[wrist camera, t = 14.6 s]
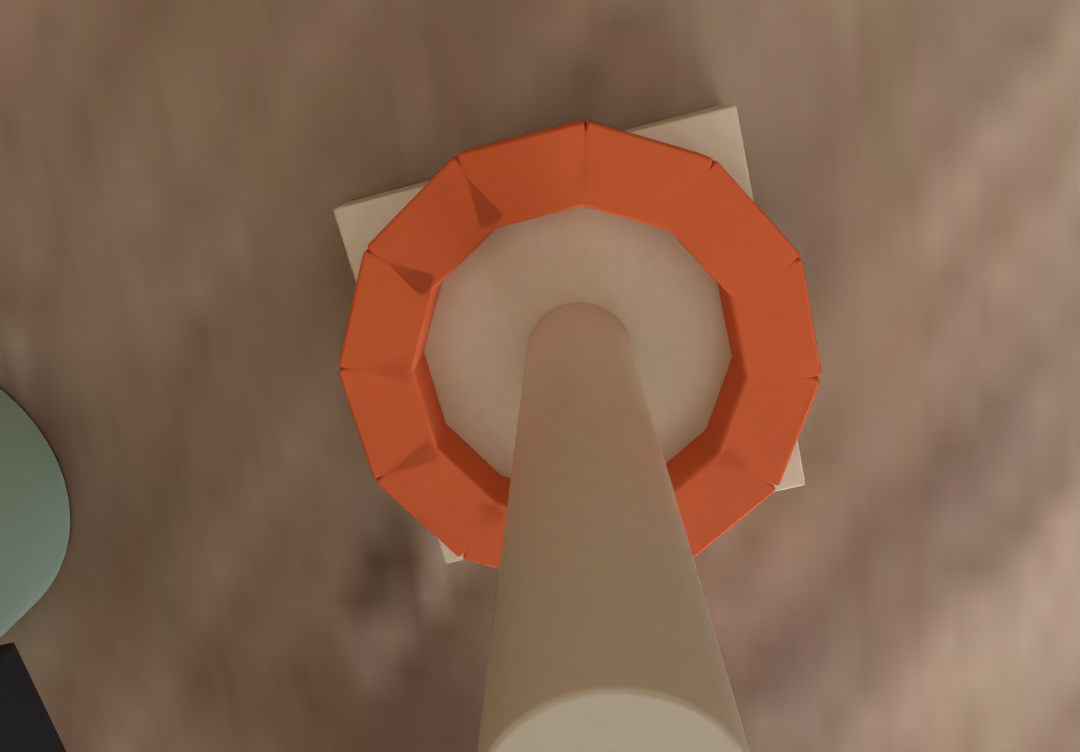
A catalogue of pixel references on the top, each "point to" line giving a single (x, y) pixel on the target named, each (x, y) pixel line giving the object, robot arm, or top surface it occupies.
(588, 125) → the ring
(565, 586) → the tall post
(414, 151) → the top surface
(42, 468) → the green cylinder with peg
